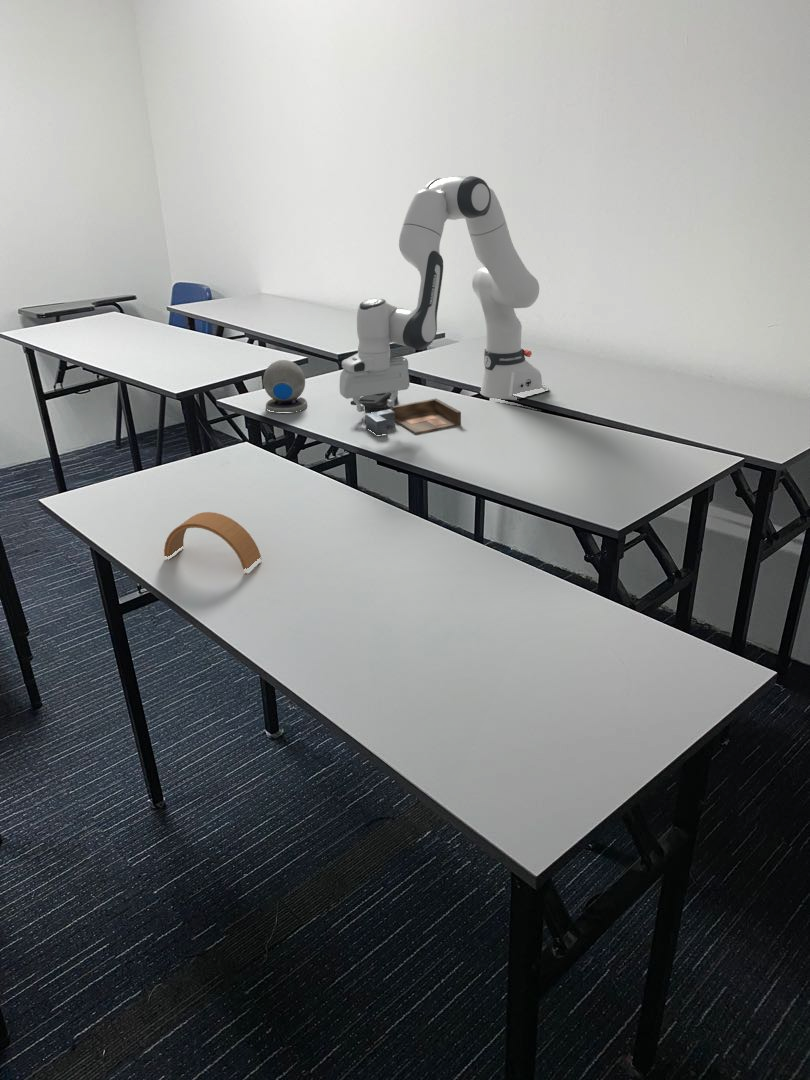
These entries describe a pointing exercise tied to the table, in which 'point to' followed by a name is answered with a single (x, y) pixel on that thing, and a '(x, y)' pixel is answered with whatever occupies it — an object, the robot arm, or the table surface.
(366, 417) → the angle bracket
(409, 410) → the corner arena
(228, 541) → the arch
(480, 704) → the table surface
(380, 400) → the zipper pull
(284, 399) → the webcam
